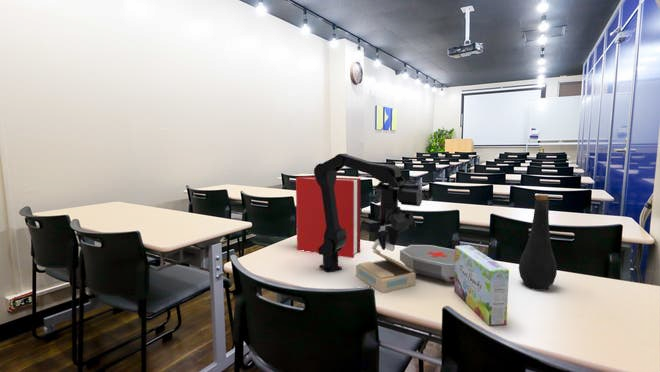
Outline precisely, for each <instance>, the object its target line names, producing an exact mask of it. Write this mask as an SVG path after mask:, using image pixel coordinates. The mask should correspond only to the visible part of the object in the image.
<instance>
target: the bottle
mask: <svg viewBox="0 0 660 372" xmlns="http://www.w3.org/2000/svg"><path fill="white" fill-rule="evenodd" d="M548 198H549V195H548V194H541V193H540V194H536V199H535V200H534V201H535V203H534V212H533V218H532V224H531V228H530V232H529V236H528V239H527V243H526V245H525V248H524V250H523V252H522V253H521V257H520V260H519V264H518V273H519V276H520V279H521V281H523V285H524V286H525V287H526V288H529V289H532V290H535V291H548V290H550V287H551V286H552V285H553V284H554V281H555V280H556V276H557V275H558V274H557V271H558V270H557V268H558V267H557V262H556V258H555V254H554V252H553V247H552V242H551V235H550V223H549V222H550V217H549V213H550V211H549V207H550V206H549V204H550V200H549V199H548Z"/></svg>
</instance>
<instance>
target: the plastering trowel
mask: <svg viewBox="0 0 660 372" xmlns="http://www.w3.org/2000/svg"><path fill="white" fill-rule="evenodd" d="M378 246H379V247H381V245H380V243H379V240H378V238H377V239H376V240H374V243H373V245H372V247H371V249H372V253H374V254H375V255H378V256H379V257H381V258H383V260H385V259H386V260H387V261H389V262H391V263H393V264H395V265H398V266H400V267H402V268H404V269H406V270H408V271H410V272H413V269H411V268H408V267H407V266H406V265H405V264H404V263H402V262H401V261H399V260H398V261H397V260H395V259H393V258H392V257H389V256H387V255H384V254H383V253H381V251H380V250H378V249H377V248H378ZM395 248H396V246H395V245H392V244H390V242H387V241H386V245H385V250H388V251H390V252H394V251H395ZM413 273H414V272H413Z"/></svg>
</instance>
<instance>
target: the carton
mask: <svg viewBox="0 0 660 372" xmlns="http://www.w3.org/2000/svg"><path fill="white" fill-rule="evenodd" d="M355 277H357V278H359V279H360V280H361V281H363V282H364V283H366V284H368V285H370V286H372V288H374V289H375V290H377V291H378V292H381V293H382V294H386V293H389V292H392V291H397V290H402V289H405V288H410V287H414V286H416V274H415V273H414V272H410V271H408V270H406V269H404V268H402V267H400V266H398V265H395V264H393V263H391V262H389V261H387V260H386V259H380V260H375V261H367V262H366V261H365V262H361V263H358V264H356V265H355Z"/></svg>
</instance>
